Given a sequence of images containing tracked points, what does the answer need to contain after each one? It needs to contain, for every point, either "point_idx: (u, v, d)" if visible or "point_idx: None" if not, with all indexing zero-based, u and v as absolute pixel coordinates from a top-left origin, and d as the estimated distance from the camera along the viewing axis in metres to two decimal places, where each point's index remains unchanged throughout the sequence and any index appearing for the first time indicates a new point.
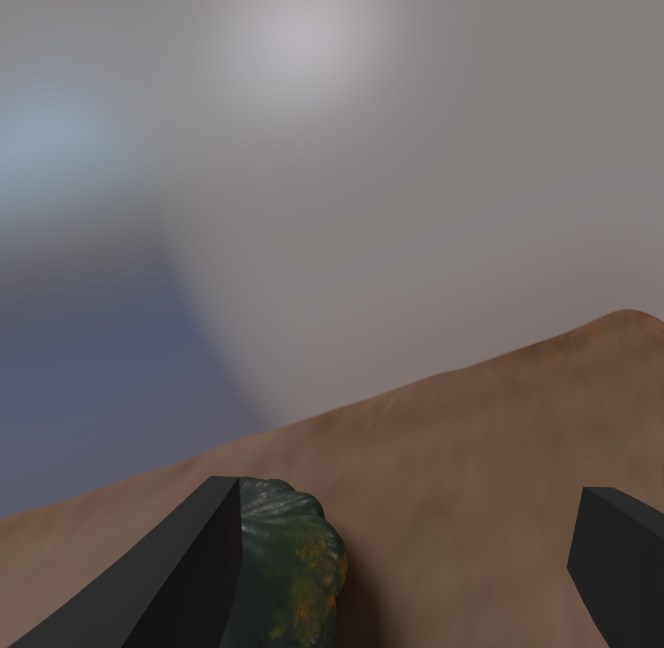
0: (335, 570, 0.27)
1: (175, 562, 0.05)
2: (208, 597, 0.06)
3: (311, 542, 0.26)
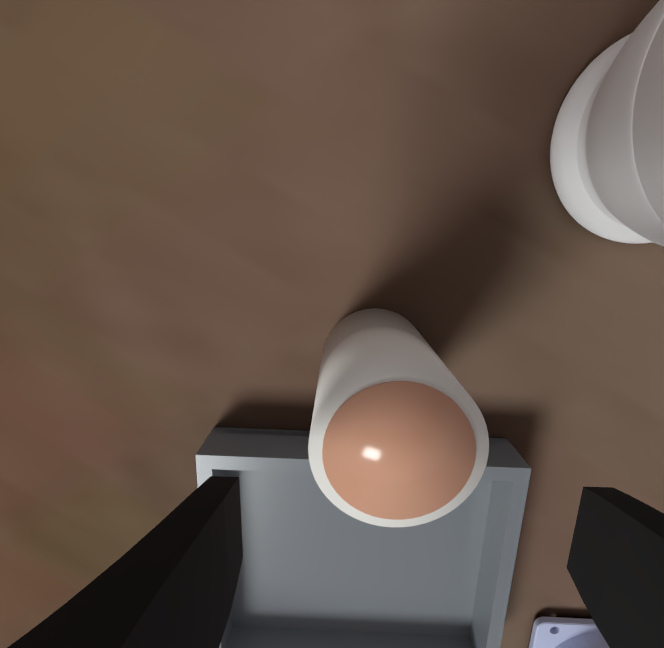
0: None
1: (175, 562, 0.05)
2: (208, 597, 0.06)
3: None
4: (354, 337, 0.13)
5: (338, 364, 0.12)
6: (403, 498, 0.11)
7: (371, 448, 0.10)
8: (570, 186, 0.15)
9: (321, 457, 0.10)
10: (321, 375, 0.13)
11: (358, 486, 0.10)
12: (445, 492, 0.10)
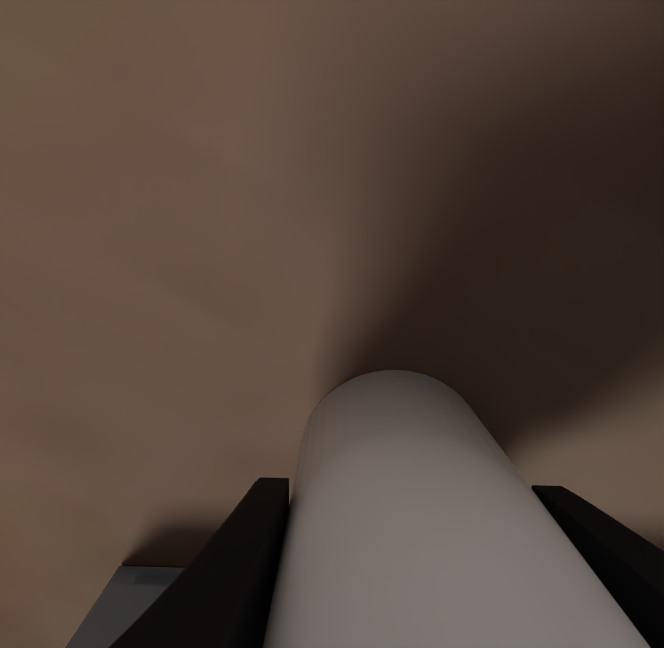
0: None
1: (250, 565, 0.05)
2: (270, 599, 0.06)
3: None
4: (358, 487, 0.06)
5: (313, 636, 0.04)
6: None
7: None
8: None
9: None
10: (277, 594, 0.05)
11: None
12: None
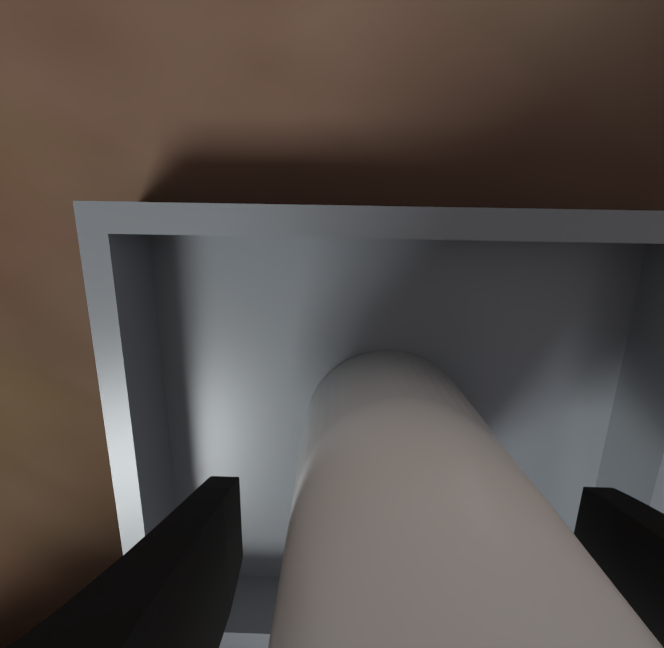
0: None
1: (175, 562, 0.05)
2: (208, 597, 0.06)
3: None
4: (360, 435, 0.07)
5: (327, 530, 0.05)
6: None
7: None
8: None
9: None
10: (294, 518, 0.06)
11: None
12: None
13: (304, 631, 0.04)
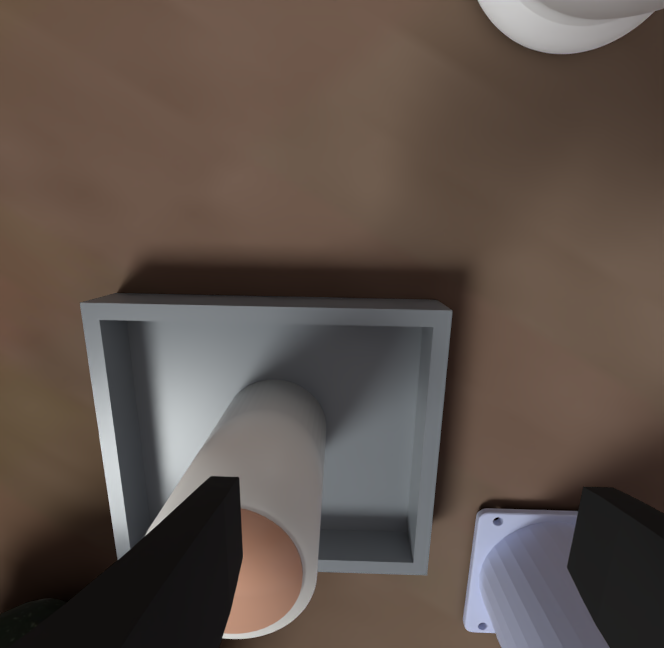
0: None
1: (175, 562, 0.05)
2: (208, 597, 0.06)
3: None
4: (224, 429, 0.14)
5: (190, 469, 0.12)
6: (239, 613, 0.11)
7: None
8: None
9: None
10: None
11: None
12: (277, 609, 0.11)
13: (167, 501, 0.11)
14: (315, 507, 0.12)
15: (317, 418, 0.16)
